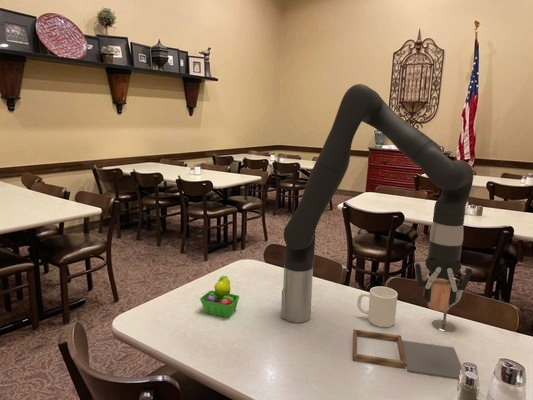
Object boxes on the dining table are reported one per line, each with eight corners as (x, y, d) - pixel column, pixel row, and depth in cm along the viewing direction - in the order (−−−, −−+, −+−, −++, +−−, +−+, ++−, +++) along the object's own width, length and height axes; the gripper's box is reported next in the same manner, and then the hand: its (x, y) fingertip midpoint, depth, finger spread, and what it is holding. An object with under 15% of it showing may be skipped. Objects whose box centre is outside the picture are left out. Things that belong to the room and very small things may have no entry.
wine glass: (456, 322, 125) (461, 278, 122) (459, 334, 118) (465, 288, 114) (429, 317, 127) (434, 274, 124) (430, 329, 120) (436, 284, 117)
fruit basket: (198, 313, 127) (198, 281, 125) (212, 302, 135) (212, 271, 133) (229, 320, 123) (229, 287, 121) (242, 308, 131) (242, 277, 129)
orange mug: (426, 301, 105) (428, 277, 103) (446, 303, 104) (449, 279, 102) (430, 313, 98) (433, 287, 97) (451, 315, 97) (455, 289, 96)
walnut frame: (352, 360, 104) (353, 355, 104) (353, 333, 117) (353, 329, 117) (406, 368, 101) (406, 363, 101) (400, 340, 114) (401, 335, 114)
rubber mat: (407, 371, 100) (407, 369, 100) (401, 341, 113) (401, 340, 113) (466, 380, 97) (466, 378, 97) (453, 348, 110) (453, 347, 110)
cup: (394, 330, 119) (397, 299, 117) (354, 322, 123) (356, 293, 121) (395, 317, 127) (397, 288, 125) (357, 311, 131) (359, 282, 129)
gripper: (472, 237, 100) (464, 299, 103) (413, 233, 103) (407, 292, 107) (481, 247, 93) (472, 312, 96) (417, 241, 96) (411, 305, 99)
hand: (438, 301), depth 101 cm, fingers closed on orange mug, 5 cm apart
